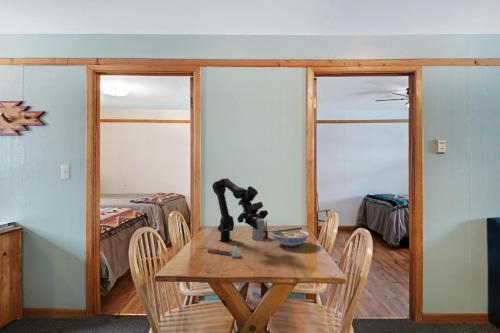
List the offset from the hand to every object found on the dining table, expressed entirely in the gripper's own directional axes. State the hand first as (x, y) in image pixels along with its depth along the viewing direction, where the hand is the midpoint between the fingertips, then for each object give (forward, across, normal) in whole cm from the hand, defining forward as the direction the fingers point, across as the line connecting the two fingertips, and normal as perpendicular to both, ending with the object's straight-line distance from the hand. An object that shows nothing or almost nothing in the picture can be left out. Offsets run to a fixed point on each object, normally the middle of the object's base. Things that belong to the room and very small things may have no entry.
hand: (259, 228), depth 148 cm
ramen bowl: (+9, +25, +10) cm, 28 cm away
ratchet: (+2, -17, +17) cm, 24 cm away
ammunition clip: (-8, +21, +27) cm, 35 cm away
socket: (+4, 0, +6) cm, 7 cm away
